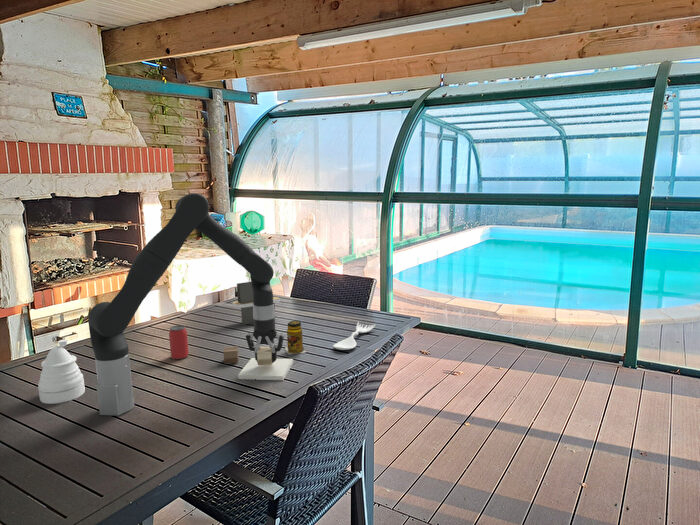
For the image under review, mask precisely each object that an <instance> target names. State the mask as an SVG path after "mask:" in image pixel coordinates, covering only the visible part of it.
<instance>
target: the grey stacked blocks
mask: <svg viewBox="0 0 700 525" xmlns="http://www.w3.org/2000/svg"><path fill="white" fill-rule="evenodd" d="M236 292H237V293H236V294H237V300H236V301H232V306H233V307H234V308H237V309H240V312H241V316H240V317H241V325H242V326H245V325H249V324H254V320H253V288H252V283H251V281H245V282H241V283H240V282H239V283H236ZM280 300H281V299H280V297H279V296H278V297H277V296H273V304H274V311H275V312H276V308H275V306H276V304H275V303H279V302H280Z"/></svg>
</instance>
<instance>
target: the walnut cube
mask: <svg viewBox="0 0 700 525" xmlns="http://www.w3.org/2000/svg"><path fill="white" fill-rule="evenodd" d="M239 358H240V356H239V346H238V345H235V346H225V347H224V348H223V363H224V365H228V364H229V365H230V363H233V364H238V363H239Z"/></svg>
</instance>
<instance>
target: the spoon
mask: <svg viewBox="0 0 700 525" xmlns="http://www.w3.org/2000/svg"><path fill="white" fill-rule="evenodd" d="M374 328H376V323H375V324H372V325H371V324H369V325H367V324H366V325H365V324H362V323H360V322H359V321H358V322H357V323H356V327H355V331H353V332H351V335H349V337H347V338H345V339H343V340H340V341H338V342H336V343H335V344H333V345H332V347H333V348H335V349H336V350H340V351H347V350H348V351H349V350H352V349H354V348H356V347H357V341H356V340H355V338H354V337H355V336H357V335H359V334H366V333H369V332H370V331H372V330H373V329H374Z"/></svg>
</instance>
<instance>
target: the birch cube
mask: <svg viewBox="0 0 700 525" xmlns="http://www.w3.org/2000/svg"><path fill="white" fill-rule="evenodd" d="M257 363H258V365H272V364H273V363H272V350H271V348H270V347H269V346H260V349H259V350H258V351H257Z"/></svg>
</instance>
